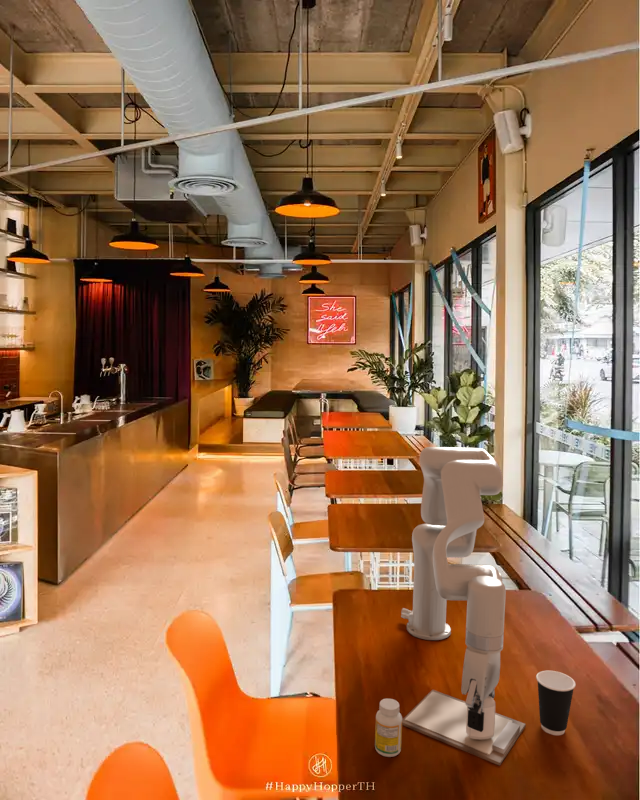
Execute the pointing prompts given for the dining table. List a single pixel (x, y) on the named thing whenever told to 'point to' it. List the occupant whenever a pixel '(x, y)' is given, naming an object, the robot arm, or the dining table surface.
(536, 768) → the dining table surface
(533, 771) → the dining table surface
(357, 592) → the dining table surface
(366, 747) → the dining table surface
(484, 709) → the eye dropper bottle
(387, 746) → the supplement bottle
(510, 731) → the clipboard
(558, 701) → the dixie cup
